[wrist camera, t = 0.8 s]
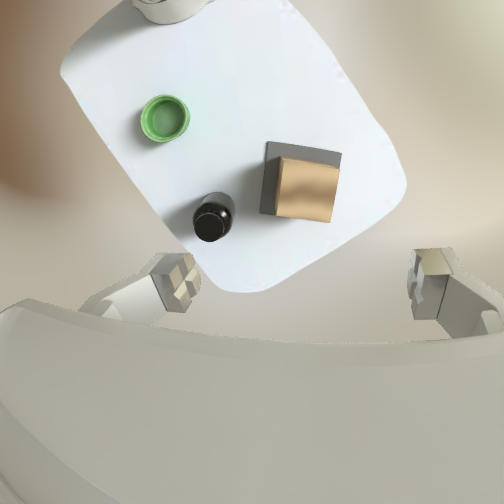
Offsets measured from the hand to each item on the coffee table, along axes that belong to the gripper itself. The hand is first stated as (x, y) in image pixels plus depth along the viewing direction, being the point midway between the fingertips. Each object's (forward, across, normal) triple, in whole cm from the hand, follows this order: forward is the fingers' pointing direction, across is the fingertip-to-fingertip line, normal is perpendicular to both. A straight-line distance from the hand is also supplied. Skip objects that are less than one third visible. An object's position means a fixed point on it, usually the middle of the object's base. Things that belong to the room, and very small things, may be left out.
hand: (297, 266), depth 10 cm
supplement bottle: (+39, +22, +13) cm, 47 cm away
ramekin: (+40, +28, -6) cm, 49 cm away
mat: (+43, +6, +10) cm, 45 cm away
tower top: (+39, +5, +10) cm, 40 cm away
